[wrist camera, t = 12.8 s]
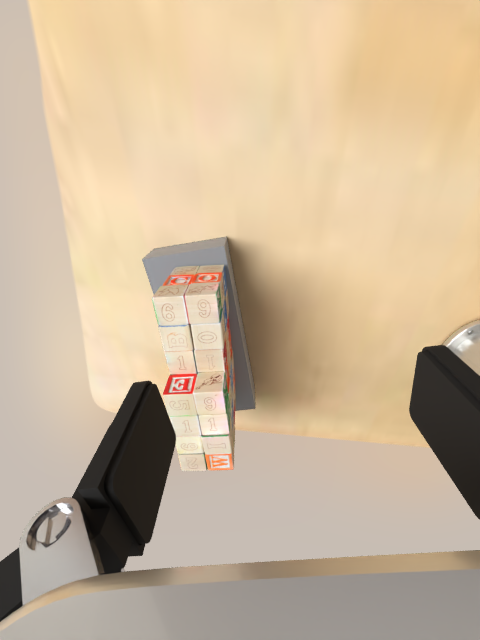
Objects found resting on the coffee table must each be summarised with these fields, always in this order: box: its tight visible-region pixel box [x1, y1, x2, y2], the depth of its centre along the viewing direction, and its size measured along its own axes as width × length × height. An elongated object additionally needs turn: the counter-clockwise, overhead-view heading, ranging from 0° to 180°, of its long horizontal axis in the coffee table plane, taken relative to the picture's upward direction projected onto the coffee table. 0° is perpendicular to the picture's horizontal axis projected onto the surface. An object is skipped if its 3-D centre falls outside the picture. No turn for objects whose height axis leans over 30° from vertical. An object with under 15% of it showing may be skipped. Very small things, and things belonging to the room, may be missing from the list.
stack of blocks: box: [152, 264, 236, 471], centre depth 34 cm, size 21×6×12 cm, turn 3°
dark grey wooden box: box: [142, 237, 255, 411], centre depth 42 cm, size 10×26×5 cm, turn 10°
